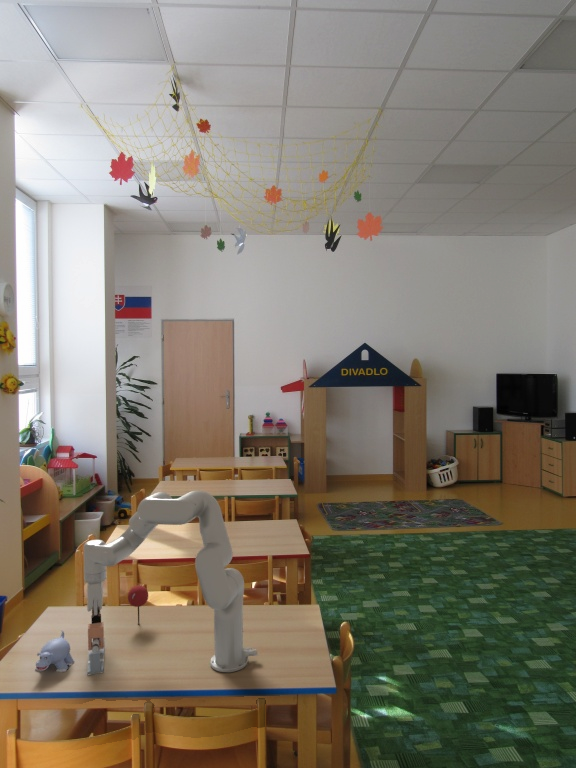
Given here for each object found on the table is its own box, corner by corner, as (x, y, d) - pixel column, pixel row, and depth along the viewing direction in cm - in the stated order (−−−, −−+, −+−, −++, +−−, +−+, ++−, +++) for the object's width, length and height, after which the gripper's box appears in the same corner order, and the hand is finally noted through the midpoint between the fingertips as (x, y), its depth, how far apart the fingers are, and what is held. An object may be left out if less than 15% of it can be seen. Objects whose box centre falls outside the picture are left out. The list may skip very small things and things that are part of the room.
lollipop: (126, 622, 229) (126, 584, 229) (146, 618, 233) (145, 581, 232) (130, 630, 222) (129, 591, 222) (150, 626, 226) (149, 588, 225)
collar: (103, 643, 207) (103, 622, 206) (103, 648, 203) (103, 627, 202) (88, 645, 205) (88, 624, 205) (88, 650, 201) (87, 629, 201)
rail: (104, 640, 215) (104, 622, 215) (103, 672, 193) (102, 652, 192) (90, 642, 213) (89, 624, 213) (87, 675, 191) (86, 654, 191)
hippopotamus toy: (24, 679, 189) (23, 650, 189) (49, 656, 204) (48, 629, 204) (56, 681, 188) (55, 652, 187) (79, 657, 203) (78, 630, 202)
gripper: (85, 569, 216) (86, 618, 216) (83, 584, 201) (84, 637, 202) (106, 567, 218) (107, 616, 219) (105, 582, 203) (107, 634, 204)
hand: (96, 626), depth 210 cm, fingers closed
